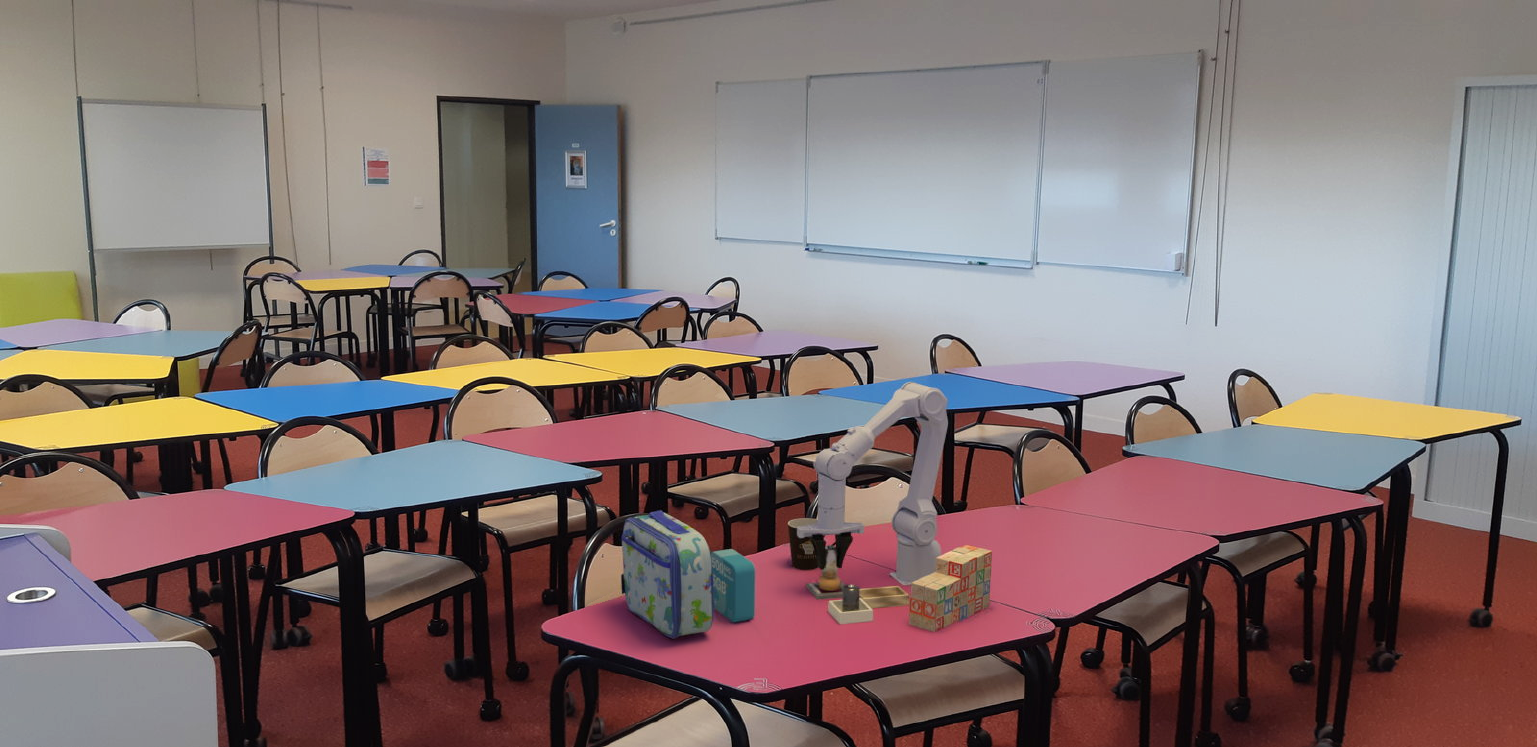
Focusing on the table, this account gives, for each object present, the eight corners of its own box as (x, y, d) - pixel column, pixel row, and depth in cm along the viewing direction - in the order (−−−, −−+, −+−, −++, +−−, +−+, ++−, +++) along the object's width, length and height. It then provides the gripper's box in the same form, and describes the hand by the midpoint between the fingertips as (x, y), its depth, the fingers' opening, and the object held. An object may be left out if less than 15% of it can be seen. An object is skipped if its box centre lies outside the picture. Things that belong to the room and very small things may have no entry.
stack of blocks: (935, 635, 214) (937, 574, 212) (908, 627, 218) (910, 567, 216) (989, 606, 230) (992, 549, 228) (963, 598, 234) (966, 543, 232)
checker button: (835, 582, 238) (835, 573, 237) (842, 589, 233) (842, 580, 233) (816, 584, 236) (816, 575, 236) (822, 591, 232) (823, 582, 232)
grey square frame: (840, 585, 240) (840, 579, 240) (853, 598, 232) (853, 591, 232) (805, 588, 238) (805, 582, 238) (817, 601, 230) (817, 594, 230)
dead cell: (855, 612, 223) (856, 581, 222) (861, 618, 220) (862, 587, 219) (839, 613, 222) (840, 583, 221) (845, 619, 219) (846, 588, 218)
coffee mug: (782, 569, 250) (783, 526, 249) (792, 557, 259) (793, 516, 257) (832, 574, 247) (833, 532, 246) (840, 563, 255) (841, 521, 254)
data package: (709, 605, 227) (710, 549, 226) (729, 601, 229) (730, 546, 228) (734, 625, 217) (735, 567, 215) (755, 621, 219) (755, 563, 217)
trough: (898, 597, 234) (898, 585, 233) (908, 607, 228) (909, 595, 228) (853, 601, 231) (853, 589, 230) (862, 611, 225) (863, 599, 225)
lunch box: (615, 604, 227) (615, 506, 224) (663, 596, 232) (663, 500, 229) (667, 649, 205) (667, 541, 201) (718, 639, 210) (719, 533, 207)
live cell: (834, 571, 237) (835, 542, 236) (839, 577, 233) (839, 547, 232) (819, 572, 236) (820, 543, 235) (823, 577, 233) (824, 548, 232)
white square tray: (860, 610, 226) (860, 597, 225) (872, 623, 219) (873, 610, 218) (828, 613, 224) (828, 600, 223) (839, 626, 217) (840, 613, 217)
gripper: (856, 498, 238) (855, 559, 240) (793, 502, 234) (791, 563, 236) (868, 507, 231) (866, 569, 233) (803, 511, 227) (801, 574, 229)
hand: (829, 567), depth 234 cm, fingers closed on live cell, 3 cm apart
